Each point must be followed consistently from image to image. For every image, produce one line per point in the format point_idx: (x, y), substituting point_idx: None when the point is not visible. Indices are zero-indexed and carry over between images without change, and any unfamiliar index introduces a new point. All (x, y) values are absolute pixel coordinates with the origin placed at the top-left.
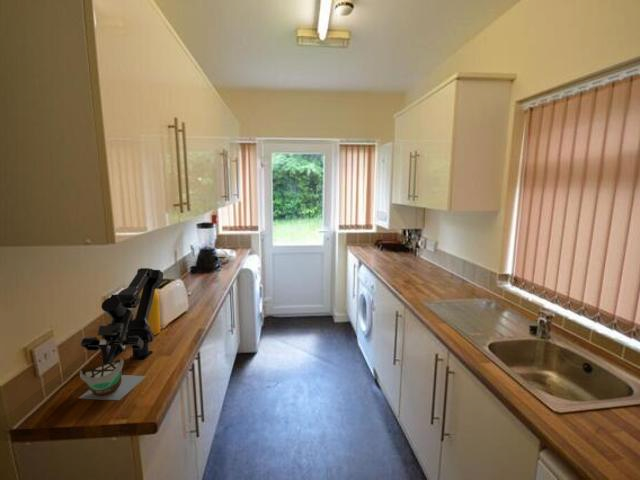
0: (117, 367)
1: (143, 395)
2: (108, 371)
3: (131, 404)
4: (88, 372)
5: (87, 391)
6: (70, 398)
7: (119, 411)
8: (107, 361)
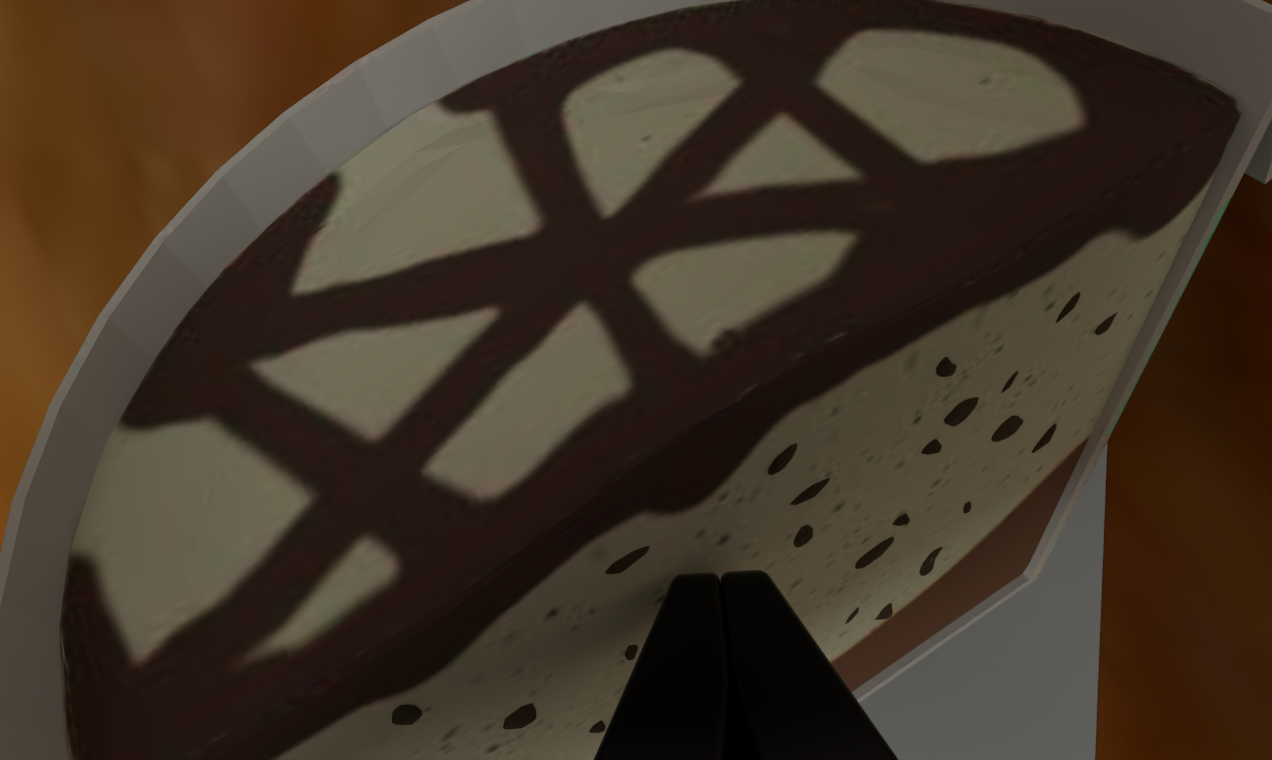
0: (101, 350)
1: (6, 490)
2: (402, 263)
3: (105, 235)
4: (1002, 126)
5: (1095, 630)
6: (1255, 422)
7: (211, 65)
8: (656, 716)
